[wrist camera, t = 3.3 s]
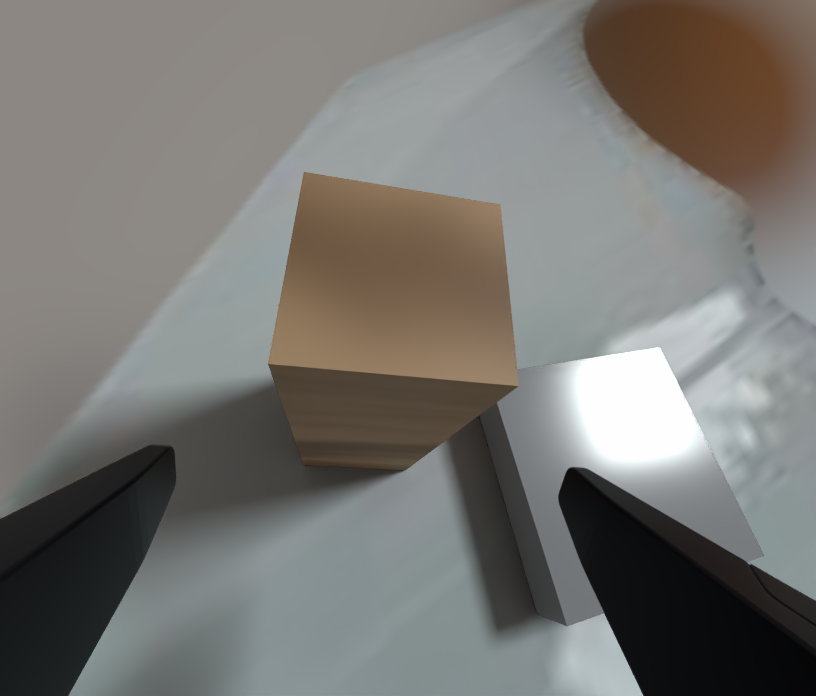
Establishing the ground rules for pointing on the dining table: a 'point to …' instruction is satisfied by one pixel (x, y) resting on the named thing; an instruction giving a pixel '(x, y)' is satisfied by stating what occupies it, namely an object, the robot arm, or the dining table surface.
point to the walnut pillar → (390, 322)
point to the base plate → (603, 464)
